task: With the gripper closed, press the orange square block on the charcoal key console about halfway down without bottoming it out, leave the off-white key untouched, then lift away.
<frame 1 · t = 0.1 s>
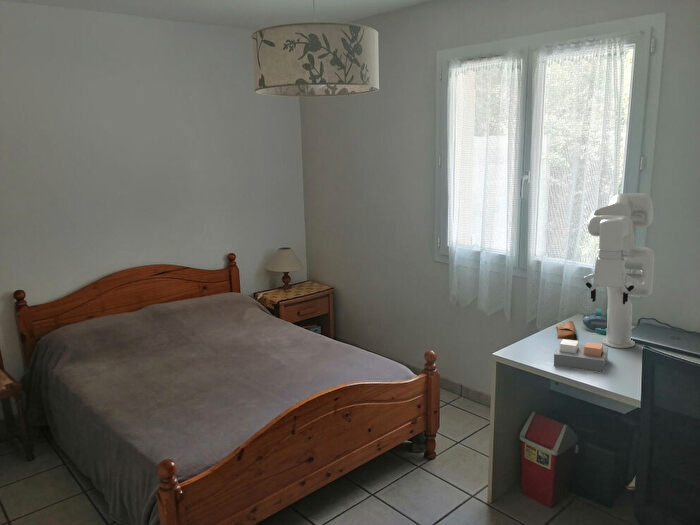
hand: (608, 302, 190), 31 cm above the table, fingers open, 9 cm apart
offwhite key: (569, 346, 217), point 6 cm above the table, slide at 0.0 cm
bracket: (603, 329, 253), on the table
orange square block: (593, 349, 212), point 6 cm above the table, slide at 0.0 cm
sunglasses case: (565, 334, 250), on the table
key console: (580, 362, 216), on the table
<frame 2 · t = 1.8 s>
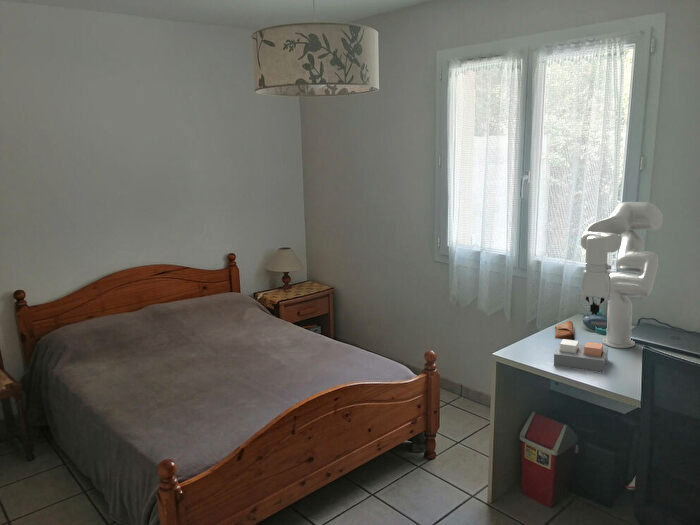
hand: (594, 313, 209), 21 cm above the table, fingers closed
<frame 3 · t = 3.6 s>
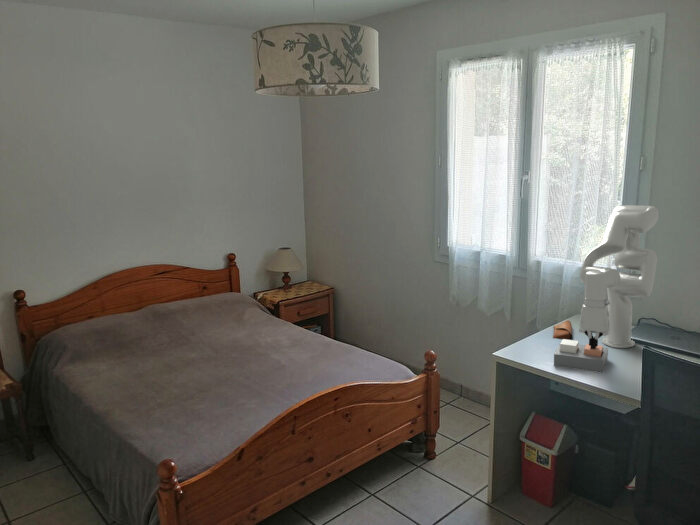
hand: (593, 347, 212), 7 cm above the table, fingers closed
orange square block: (593, 351, 212), point 5 cm above the table, slide at 0.9 cm, touching gripper
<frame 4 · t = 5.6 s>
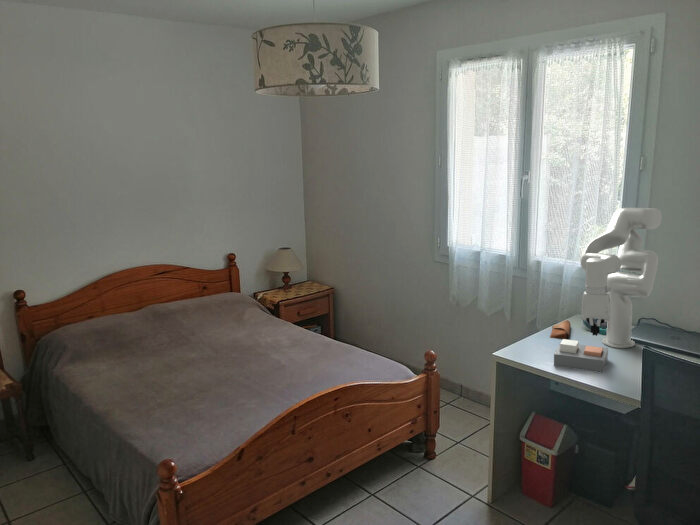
hand: (595, 334, 212), 12 cm above the table, fingers closed
orange square block: (593, 353, 213), point 5 cm above the table, slide at 1.6 cm
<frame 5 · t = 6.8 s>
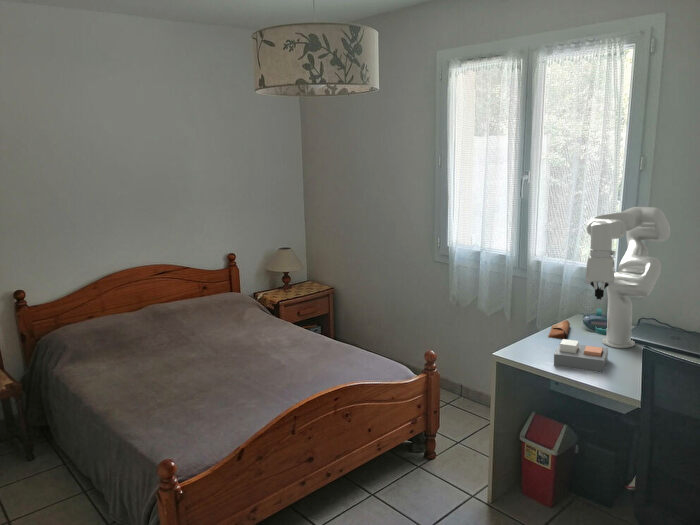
hand: (599, 298, 215), 25 cm above the table, fingers closed
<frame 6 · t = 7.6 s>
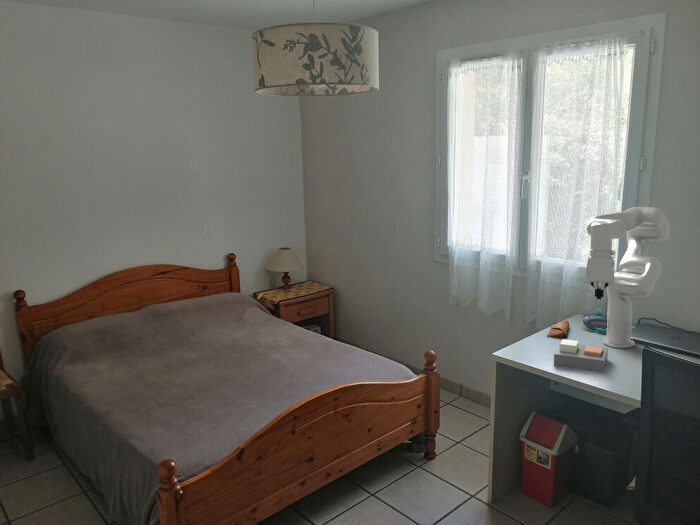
hand: (599, 298, 215), 25 cm above the table, fingers closed
at the end: orange square block slide at 1.6 cm; offwhite key slide at 0.0 cm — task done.
